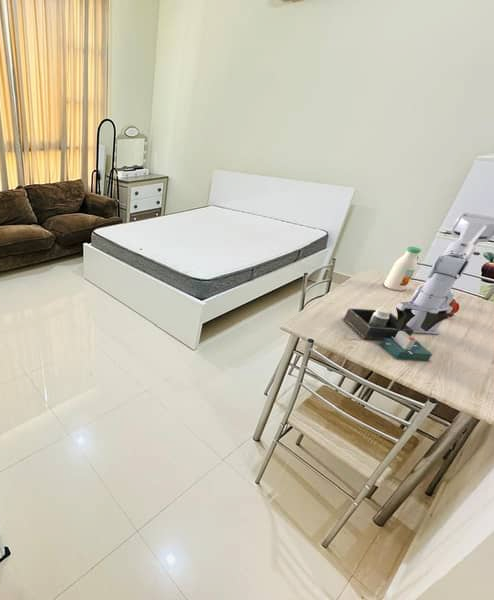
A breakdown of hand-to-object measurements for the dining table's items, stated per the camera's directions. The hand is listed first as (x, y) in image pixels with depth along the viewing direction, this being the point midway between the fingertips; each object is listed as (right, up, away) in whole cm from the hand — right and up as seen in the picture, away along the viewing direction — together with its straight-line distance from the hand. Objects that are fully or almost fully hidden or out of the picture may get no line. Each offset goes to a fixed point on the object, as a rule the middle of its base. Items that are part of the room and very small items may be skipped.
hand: (411, 328), depth 106 cm
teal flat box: (+2, -9, +5) cm, 10 cm away
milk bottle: (+39, +16, +48) cm, 63 cm away
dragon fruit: (+38, +4, +27) cm, 47 cm away
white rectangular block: (0, -6, +3) cm, 7 cm away
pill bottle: (+1, -2, +16) cm, 16 cm away
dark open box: (+1, -2, +16) cm, 16 cm away
